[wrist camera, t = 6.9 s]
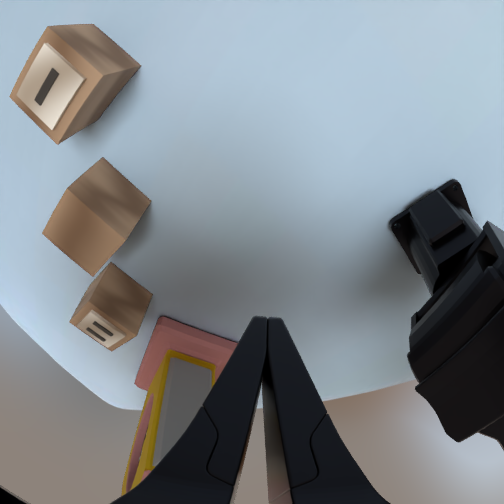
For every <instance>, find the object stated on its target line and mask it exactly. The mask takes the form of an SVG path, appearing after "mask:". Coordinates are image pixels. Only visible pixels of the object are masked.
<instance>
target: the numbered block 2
mask: <svg viewBox="0 0 504 504" xmlns="http://www.w3.org/2000/svg"><path fill="white" fill-rule="evenodd" d="M152 295H153V294H152V293H150V292H149V291H148V290H146V289H145V288H144V287H142V286H141V285H140V284H139V283H137V282H136V281H135V280H133V279H132V278H131V277H130V276H128V275H127V274H126V273H124V272H123V271H122V270H121V269H119V268H118V267H117V266H116V265H114V264H113V263H112V262H110V263H109V265H108V266H107V267H106V268H105V269H104V270H103V271H102V272H101V273H100V274H99V275H98V277H97V278H96V279H95V280H94V281H93V282H92V283H91V284H90V286H89V287H88V289H87V291H86V292H85V294H84V296H83V298H82V299H81V301H80V303H79V305H78V307H77V308H76V310H75V312H74V314H73V316H72V318H71V320H70V321H69V322H70V323H71V324H73V325H74V326H76V327H77V328H78V329H80V330H81V331H82V332H84V333H85V334H87V335H88V336H90V337H91V338H92V339H94V340H95V341H97V342H98V343H100V344H101V345H103V346H104V347H106V348H107V349H109V350H110V351H113V350H115V349H117V348H118V347H120V346H121V345H123V344H124V343H126V342H128V341H129V340H131V339H132V338H134V337H136V336H137V334H138V331H139V328H140V326H141V323H142V321H143V318H144V315H145V313H146V310H147V308H148V305H149V302H150V300H151V297H152Z"/></svg>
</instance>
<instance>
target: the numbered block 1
mask: <svg viewBox="0 0 504 504" xmlns="http://www.w3.org/2000/svg"><path fill="white" fill-rule="evenodd" d="M140 67H141V65H140V64H139V63H138V62H137V61H135V60H134V59H133V58H132V57H131V56H130V55H129V54H128V53H126V52H125V51H124V50H123V49H122V48H121V47H120V46H119V45H117V44H116V43H115V42H114V41H113V40H112V39H110V38H109V37H108V36H107V35H106V34H105V33H103V32H102V31H101V30H100V29H99V28H98V27H96V26H95V25H94V24H75V25H57V26H47V28H46V30H45V31H44V33H43V34H42V36H41V38H40V39H39V41H38V43H37V44H36V46H35V48H34V49H33V51H32V53H31V55H30V56H29V58H28V60H27V62H26V64H25V66H24V68H23V70H22V71H21V73H20V75H19V77H18V79H17V82H16V84H15V86H14V88H13V90H12V92H11V94H10V98H11V99H12V100H13V101H14V102H15V103H16V104H17V105H18V106H19V107H20V108H21V109H22V110H23V111H24V112H25V113H26V114H27V115H28V116H29V117H30V118H31V119H32V120H33V121H34V122H35V123H36V124H37V125H38V126H39V127H40V128H41V129H42V130H43V131H44V132H45V133H46V134H47V135H48V136H49V137H50V138H51V139H52V140H53V141H54V142H55V143H56V144H57V145H58V144H60V143H61V142H63V141H64V140H66V139H67V138H69V137H70V136H72V135H74V134H75V133H77V132H79V131H80V130H82V129H83V128H85V127H87V126H89V125H90V124H92V123H94V122H95V121H97V120H98V119H99V118H100V116H101V115H102V114H103V112H104V111H105V110H106V108H107V107H108V106H109V104H110V103H111V102H112V100H113V99H114V98H115V97H116V95H117V94H118V93H119V92H120V90H121V89H122V88H123V87H124V85H125V84H126V83H127V82H128V81H129V79H130V78H131V77H132V76H133V75H134V74H135V72H136V71H137V70H138V69H139V68H140Z"/></svg>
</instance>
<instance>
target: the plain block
mask: <svg viewBox="0 0 504 504" xmlns="http://www.w3.org/2000/svg"><path fill="white" fill-rule="evenodd" d="M150 203H151V200H150V199H149V198H148V197H146V196H145V195H144V194H143V193H142V192H141V191H140V190H139V189H138V188H136V187H135V186H134V185H133V184H132V183H131V182H130V181H129V180H128V179H126V178H125V177H124V176H123V175H122V174H121V173H120V172H119V171H118V170H117V169H115V168H114V167H113V166H112V165H111V164H110V163H109V162H108V161H107V160H106V159H105V158H103V157H102V158H101V159H100V160H99V161H98V162H96V163H95V164H94V165H93V166H92V167H90V168H89V169H88V170H87V171H86V172H85V173H83V174H82V175H81V176H80V177H79V178H78V179H77V180H76V181H74V182H73V183H72V184H71V185H70V186H69V187H68V188H67V189H66V191H65V193H64V194H63V196H62V198H61V199H60V201H59V203H58V205H57V206H56V208H55V210H54V212H53V214H52V215H51V217H50V219H49V221H48V223H47V225H46V227H45V229H44V230H43V232H42V234H43V235H44V236H45V237H46V238H48V239H49V240H50V241H51V242H52V243H53V244H54V245H55V246H57V247H58V248H59V249H60V250H61V251H62V252H64V253H65V254H66V255H67V256H68V257H69V258H71V259H72V260H73V261H74V262H75V263H77V264H78V265H79V266H80V267H81V268H83V269H84V270H85V271H86V272H88V273H89V274H90V275H91V276H94V275H95V274H96V273H97V272H98V271H99V269H100V268H101V267H102V266H103V265H104V264H105V263H106V262H107V260H108V259H109V258H110V257H111V256H112V255H113V254H114V253H115V252H116V251H117V250H118V248H119V247H120V246H121V245H122V244H123V243H124V242H125V241H126V240H127V238H128V237H129V235H130V233H131V232H132V230H133V229H134V227H135V225H136V224H137V222H138V221H139V219H140V218H141V216H142V215H143V213H144V212H145V210H146V209H147V207H148V206H149V204H150Z"/></svg>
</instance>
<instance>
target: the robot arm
mask: <svg viewBox="0 0 504 504" xmlns="http://www.w3.org/2000/svg"><path fill="white" fill-rule="evenodd" d="M454 185H456V186H455V188H453V186H454ZM397 223H398V225H397V226H394V225H395V224H397ZM389 225H390V228H391V229H392V231H393V233H394V234H395V236H396V238H397V239H398V241H399V242H400V244H401V246H402V247H403V249H404V251H405V252H406V254H407V256H408V258H409V259H410V261H411V263H412V264H413V266H414V268H415V270H416V272H417V273H418V274H422V276H423V278H424V280H425V283H426V285H427V287H428V289H429V291H430V294H431V296H432V297H431V298H430V299H429V300H428V301H427V302H426V304H425V305H424V306H423V307H422V308H421V309H420V310H419V311H418V312H416V313H415V314H414V315H413V316H412V317H411V333H410V336H409V343H410V352H409V353H408V354H407V358H408V361H409V364H410V367H411V370H412V372H413V374H414V376H415V378H416V379H417V381H418V382H419V384H418V385H417V386H416V387H415V390H416V391H417V392H418V393H419V394H420V395H421V396H423V397H424V398H425V399H426V400H427V401H428V402H429V404H430V405H431V406H432V408H433V409H434V410H435V412H436V414H437V415H438V418H439V420H440V422H441V424H442V426H443V428H444V430H445V432H446V434H447V435H448V436H450V437H451V438H452V439H454V440H455V441H456V442H461V441H463V440H465V439H467V438H468V437H470V436H472V435H474V434H475V433H480V434H483V435H485V436H488V437H491V438H493V439H495V440H497V441H498V442H499V444H500V445H501V447H502V449H503V450H504V231H502V230H501V229H500V228H498V227H497V226H495V225H494V224H492V223H491V222H489V221H487V222H486V223H485V225H484V226H483V230H481V228H480V227H479V226H478V225H477V223H476V222H475V221H474V220H473V217H472V215H471V212H470V209H469V206H468V203H467V200H466V198H465V195H464V192H463V190H462V187H461V185H460V183H459V182H458V181H457V180H455V179H453V180H451V181H449V182H448V183H446V184H445V185H443V186H442V187H440V188H439V189H437V190H436V191H434V192H432V193H431V194H429V195H428V196H426V197H425V198H423V199H422V200H420V201H419V202H417V203H416V204H414V205H413V206H411V207H410V208H409V209H407V210H405V211H404V212H402V213H401V214H399V215H398V216H396V217H395V218H393V219H392V220H391V221H390V224H389ZM261 383H262V398H263V413H264V431H265V447H266V463H267V479H268V480H267V481H268V498H269V504H390V503H389V502H388V501H386V500H385V499H384V498H383V497H382V496H381V495H379V494H378V492H377V491H376V490H375V489H374V488H373V486H372V485H371V483H370V482H369V481H368V479H367V478H366V476H365V475H364V473H363V472H362V470H361V469H360V467H359V466H358V465H357V463H356V461H355V460H354V459H353V457H352V456H351V454H350V452H349V451H348V449H347V448H346V446H345V444H344V443H343V441H342V440H341V438H340V436H339V434H338V432H337V430H336V428H335V426H334V425H333V423H332V420H331V418H330V416H329V414H326V413H327V410H326V409H325V406H324V404H323V402H322V400H321V398H320V396H319V394H318V392H317V390H316V388H315V385H314V383H313V381H312V379H311V377H310V375H309V373H308V371H307V369H306V367H305V365H304V363H303V361H302V359H301V356H300V354H299V352H298V350H297V348H296V346H295V344H294V342H293V340H292V338H291V336H290V334H289V332H288V330H287V327H286V325H285V323H284V321H283V320H282V318H277V317H269V318H268V319H267V317H263V316H254V317H253V318H252V320H251V321H250V323H249V325H248V327H247V329H246V330H245V332H244V334H243V336H242V337H241V339H240V341H239V343H238V344H237V346H236V348H235V349H234V351H233V353H232V355H231V356H230V358H229V360H228V362H227V363H226V365H225V367H224V368H223V370H222V372H221V373H220V375H219V377H218V379H217V380H216V382H215V384H214V385H213V387H212V389H211V390H210V392H209V394H208V395H207V397H206V399H205V400H204V402H203V404H202V406H201V407H200V408H199V410H198V412H197V413H196V415H195V417H194V418H193V420H192V421H191V423H190V424H189V426H188V427H187V429H186V430H185V432H184V433H183V434H182V435H181V437H180V438H179V439H178V441H177V442H176V443H175V444H174V446H173V447H172V448H171V449H170V450H169V451H168V453H167V454H166V455H165V456H164V457H163V458H162V460H161V461H160V462H159V463H158V464H157V465H156V466H155V468H154V469H153V470H152V471H151V472H150V473H149V474H148V475H147V476H146V477H145V478H144V479H143V480H142V481H141V482H140V483H139V484H138V485H137V486H136V487H134V488H133V489H132V490H130V491H129V492H127V493H126V494H124V495H122V496H121V497H119V498H118V499H116V500H115V501H113V502H112V503H110V504H234V500H235V496H236V493H237V489H238V485H239V481H240V476H241V472H242V468H243V464H244V460H245V455H246V451H247V447H248V443H249V439H250V434H251V430H252V425H253V421H254V417H255V412H256V408H257V403H258V398H259V394H260V389H261ZM0 504H30V503H28V502H27V501H25V500H23V499H22V498H20V497H18V496H16V495H15V494H13V493H12V492H10V491H9V490H7V489H5V488H4V487H2V486H1V485H0Z"/></svg>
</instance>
